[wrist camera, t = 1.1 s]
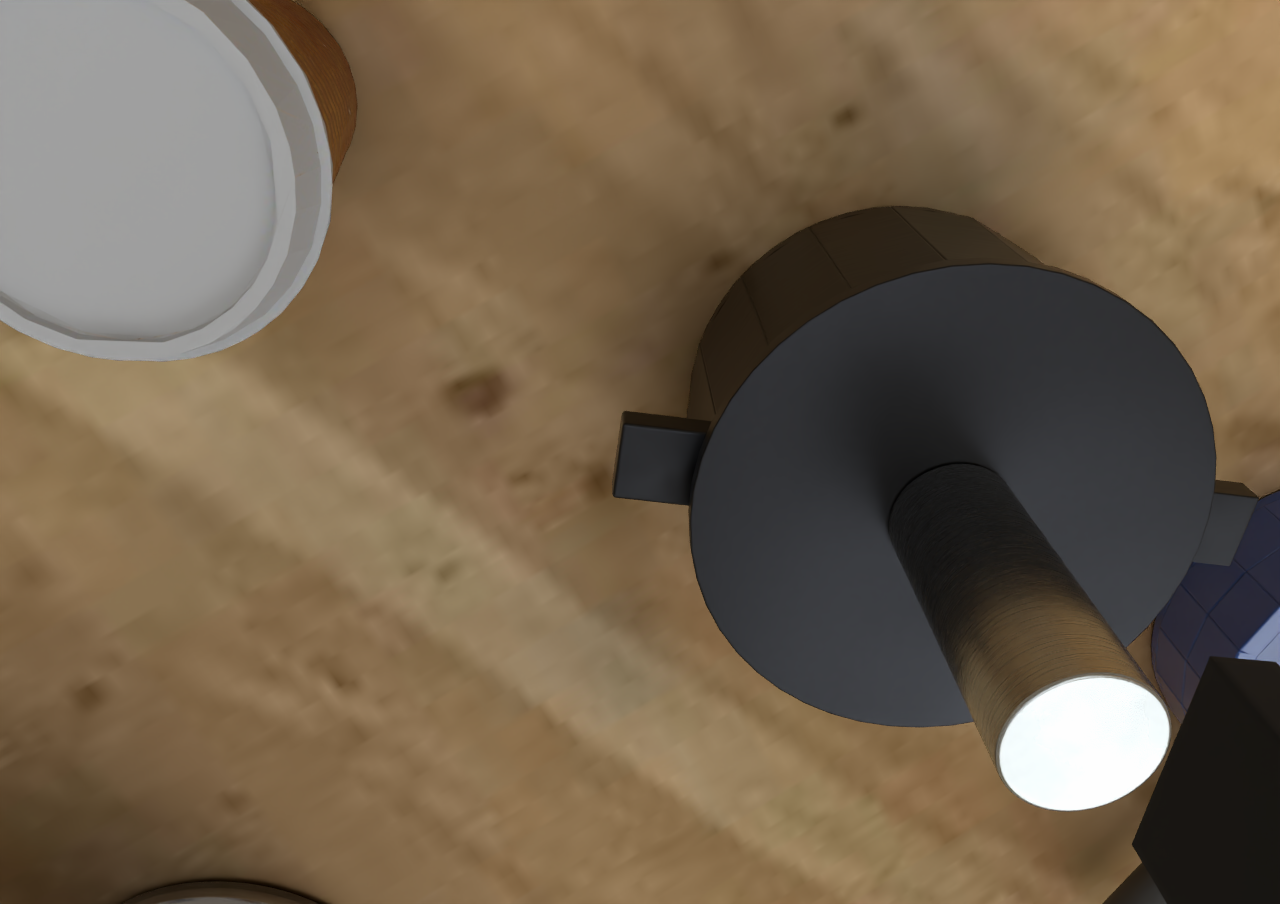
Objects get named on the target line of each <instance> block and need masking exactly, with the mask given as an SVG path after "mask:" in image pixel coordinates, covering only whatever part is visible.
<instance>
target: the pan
mask: <svg viewBox="0 0 1280 904" xmlns="http://www.w3.org/2000/svg"><path fill="white" fill-rule="evenodd" d="M1151 646H1152V664H1153V668H1154V673H1155V678H1156V680H1157V683H1158V685H1159V688H1160V690H1161V693H1162V694H1163V696H1164V697H1165V699H1166V701H1167V704H1168V706H1169V708H1170V709H1171V711H1172V712H1173V714H1174V715H1175V716H1176V718H1177V719H1178V721H1179V722H1180V723H1181V725H1182V722H1183V720H1184V717H1185V715H1186V713H1187V710H1188V708H1189V705H1190V703H1191V701H1192V698H1193V696H1194V693H1195V691H1196V688H1197V686H1198V684H1199V681H1200V679H1201V676H1202V674H1203V672H1204V669H1205V667H1206V664H1207V662H1208V660H1209V657H1210V656H1216V657H1227V658H1238V659H1250V660H1261V661H1273V662H1276V663H1277V664H1278V665H1279V666H1280V491H1277V492H1275V493H1273V494H1271V495H1268V496H1266V497H1264V498H1262V499H1261V500H1259V501H1258V502H1257V505H1256V507H1255V509H1254V512H1253V514H1252V516H1251V519H1250V521H1249V523H1248V526H1247V528H1246V530H1245V532H1244V535H1243V537H1242V539H1241V542H1240V544H1239V546H1238V549H1237V551H1236V553H1235V556H1234V558H1233V560H1232V563H1231V565H1230V566H1223V565H1214V564H1205V563H1196V562H1192V563H1191V565H1190V567H1189V569H1188V571H1187V573H1186V576H1185V577H1184V579H1183V580H1182V582H1181V583H1180V585H1179V586H1178V588H1177V589H1176V591H1175V592H1174V594H1173V596H1172V597H1171V599H1170V600H1169V602H1168V603H1167V604H1166V605H1165V607H1164V608H1163V609H1162V610H1161V611H1160V613H1159V614H1158V615H1157V616H1156V620H1155V623H1154V627H1153V635H1152V644H1151Z"/></svg>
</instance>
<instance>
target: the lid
mask: <svg viewBox="0 0 1280 904" xmlns="http://www.w3.org/2000/svg"><path fill="white" fill-rule="evenodd" d="M1215 477H1216V450H1215V441H1214V432H1213V425H1212V421H1211V418H1210V414H1209V411H1208V407H1207V403H1206V400H1205V397H1204V394H1203V392H1202V390H1201V388H1200V386H1199V384H1198V381H1197V379H1196V377H1195V375H1194V373H1193V371H1192V369H1191V367H1190V366H1189V364H1188V363H1187V361H1186V360H1185V359H1184V357H1183V356H1182V354H1181V353H1180V351H1179V350H1178V348H1177V347H1176V345H1175V344H1174V343H1173V342H1172V341H1171V340H1170V339H1169V338H1168V336H1167V335H1166V334H1165V333H1164V332H1163V331H1162V330H1161V329H1160V328H1159V327H1158V326H1157V325H1156V324H1155V323H1154V322H1153V321H1152V320H1151V319H1150V318H1148V317H1147V316H1146V315H1144V314H1143V313H1142V312H1140V311H1139V310H1138V309H1136V308H1135V307H1134V306H1132V305H1131V304H1130V303H1128V302H1127V301H1126V300H1124V299H1123V298H1121V297H1120V296H1119V295H1117V294H1115V293H1113V292H1112V291H1110V290H1108V289H1106V288H1104V287H1102V286H1100V285H1098V284H1097V283H1095V282H1093V281H1091V280H1089V279H1087V278H1084V277H1081V276H1078V275H1076V274H1073V273H1070V272H1067V271H1064V270H1062V269H1059V268H1056V267H1052V266H1047V265H1042V264H1037V263H1032V262H1027V261H1022V260H1013V259H998V258H968V259H952V260H943V261H937V262H932V263H927V264H922V265H916V266H911V267H907V268H904V269H901V270H897V271H894V272H891V273H888V274H885V275H882V276H879V277H876V278H873V279H870V280H868V281H866V282H864V283H861V284H859V285H857V286H855V287H853V288H850V289H848V290H846V291H844V292H842V293H840V294H837V295H836V296H834V297H832V298H831V299H829V300H828V301H826V302H824V303H823V304H821V305H819V306H818V307H816V308H814V309H813V310H811V311H810V312H808V313H806V314H805V315H803V316H802V317H801V318H800V319H798V320H797V321H796V322H795V323H793V324H792V325H791V326H790V327H788V328H787V329H786V330H784V331H783V332H782V333H781V334H779V335H778V336H777V337H776V338H775V339H774V340H773V341H772V342H771V343H770V344H769V345H768V346H767V347H766V348H765V349H764V350H763V351H762V352H761V353H760V354H759V355H758V356H757V357H756V358H755V359H754V360H753V361H752V362H751V363H750V364H749V366H748V367H747V368H746V369H745V371H744V372H743V373H742V375H741V376H740V377H739V379H738V380H737V381H736V383H735V384H734V385H733V386H732V388H731V389H730V390H729V392H728V394H727V395H726V397H725V399H724V400H723V402H722V404H721V406H720V407H719V409H718V411H717V413H716V414H715V416H714V418H713V420H712V422H711V424H710V426H709V429H708V431H707V434H706V436H705V439H704V441H703V443H702V446H701V448H700V451H699V455H698V459H697V462H696V466H695V470H694V474H693V478H692V483H691V492H690V502H689V511H688V513H689V536H690V547H691V553H692V558H693V563H694V568H695V573H696V578H697V581H698V584H699V587H700V590H701V592H702V595H703V598H704V601H705V603H706V606H707V608H708V609H709V611H710V613H711V615H712V617H713V619H714V620H715V622H716V624H717V626H718V628H719V630H720V631H721V632H722V634H723V635H724V636H725V638H726V639H727V640H728V642H729V643H730V644H731V646H732V647H733V648H734V649H735V651H736V652H737V653H738V654H739V655H740V656H741V657H742V658H743V659H744V660H745V661H746V662H747V663H748V664H749V665H750V666H751V667H752V668H753V669H754V670H755V671H756V672H757V673H759V674H760V675H761V676H763V677H764V678H765V679H767V680H768V681H769V682H771V683H772V684H773V685H775V686H776V687H777V688H779V689H780V690H782V691H784V692H786V693H788V694H789V695H791V696H793V697H795V698H797V699H798V700H800V701H802V702H804V703H806V704H808V705H811V706H813V707H816V708H818V709H821V710H823V711H826V712H828V713H831V714H834V715H838V716H841V717H845V718H849V719H852V720H856V721H860V722H866V723H873V724H879V725H886V726H899V727H934V726H950V725H957V724H963V723H969V722H974V723H975V725H976V727H977V729H978V731H979V733H980V736H981V738H982V740H983V742H984V744H985V746H986V748H987V751H988V753H989V755H990V757H991V759H992V761H993V764H994V766H995V768H996V770H997V772H998V774H999V776H1000V778H1001V780H1002V781H1003V783H1004V784H1005V786H1006V787H1007V788H1008V789H1009V790H1010V791H1011V792H1012V793H1013V794H1015V795H1016V796H1017V797H1019V798H1020V799H1022V800H1023V801H1025V802H1027V803H1029V804H1031V805H1034V806H1036V807H1039V808H1043V809H1047V810H1053V811H1068V812H1069V811H1081V810H1088V809H1092V808H1096V807H1100V806H1103V805H1106V804H1109V803H1112V802H1114V801H1116V800H1118V799H1120V798H1122V797H1124V796H1126V795H1127V794H1129V793H1131V792H1132V791H1134V790H1135V789H1136V788H1138V787H1139V786H1141V785H1142V784H1143V783H1144V782H1145V781H1146V780H1147V779H1148V778H1149V777H1150V776H1151V775H1152V774H1153V773H1154V772H1155V771H1156V769H1157V768H1158V766H1159V765H1160V764H1161V762H1162V760H1163V758H1164V757H1165V755H1166V752H1167V750H1168V747H1169V744H1170V739H1171V719H1170V714H1169V711H1168V708H1167V706H1166V704H1165V702H1164V701H1163V699H1162V697H1161V696H1160V695H1159V693H1158V692H1157V691H1156V689H1155V688H1154V686H1153V685H1152V684H1151V682H1150V681H1149V680H1148V678H1147V677H1146V675H1145V674H1144V673H1143V671H1142V670H1141V668H1140V667H1139V666H1138V664H1137V663H1136V662H1135V660H1134V659H1133V657H1132V656H1131V655H1130V653H1129V652H1128V650H1127V649H1126V647H1127V646H1128V645H1129V644H1130V643H1131V642H1133V641H1134V640H1135V639H1136V638H1137V637H1138V636H1139V635H1140V634H1141V633H1142V632H1143V631H1144V630H1145V629H1146V628H1147V627H1148V626H1149V625H1150V623H1151V622H1152V621H1153V620H1154V619H1155V617H1156V616H1157V615H1158V614H1159V613H1160V611H1161V610H1162V609H1163V608H1164V607H1165V605H1166V604H1167V603H1168V602H1169V600H1170V599H1171V597H1172V596H1173V594H1174V592H1175V591H1176V589H1177V588H1178V586H1179V585H1180V583H1181V582H1182V580H1183V579H1184V577H1185V576H1186V573H1187V571H1188V569H1189V567H1190V565H1191V563H1192V561H1193V559H1194V557H1195V555H1196V553H1197V551H1198V549H1199V547H1200V544H1201V541H1202V538H1203V535H1204V532H1205V529H1206V526H1207V523H1208V520H1209V517H1210V511H1211V506H1212V501H1213V496H1214V490H1215Z"/></svg>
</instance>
